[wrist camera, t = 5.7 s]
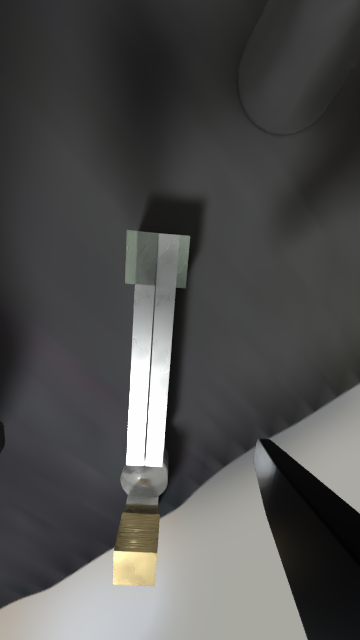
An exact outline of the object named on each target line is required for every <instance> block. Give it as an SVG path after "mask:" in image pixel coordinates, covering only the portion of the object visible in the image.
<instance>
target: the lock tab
mask: <svg viewBox="0 0 360 640" xmlns="http://www.w3.org/2000/svg"><path fill="white" fill-rule="evenodd" d="M159 519H160V515H158V514H139V513H122V517H121V521H120V526H119V530H118V535H117V539H116V544H115V548H114V565H113V584H115V585H137V586H154V585H155V572H156V561H157V547H158V533H159Z"/></svg>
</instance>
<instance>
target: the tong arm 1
mask: <svg viewBox="0 0 360 640" xmlns="http://www.w3.org/2000/svg"><path fill="white" fill-rule="evenodd" d="M158 240H159V233H151V232H140V231H130V230H127V245H126V271H125V283H129V284H135V297H134V318H133V339H132V361H131V382H130V403H129V424H128V446H127V465H138V466H143V464H144V458H145V452H146V447H147V434H148V416H149V399H150V381H151V364H152V346H153V328H154V311H155V293H156V276H157V258H158Z"/></svg>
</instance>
